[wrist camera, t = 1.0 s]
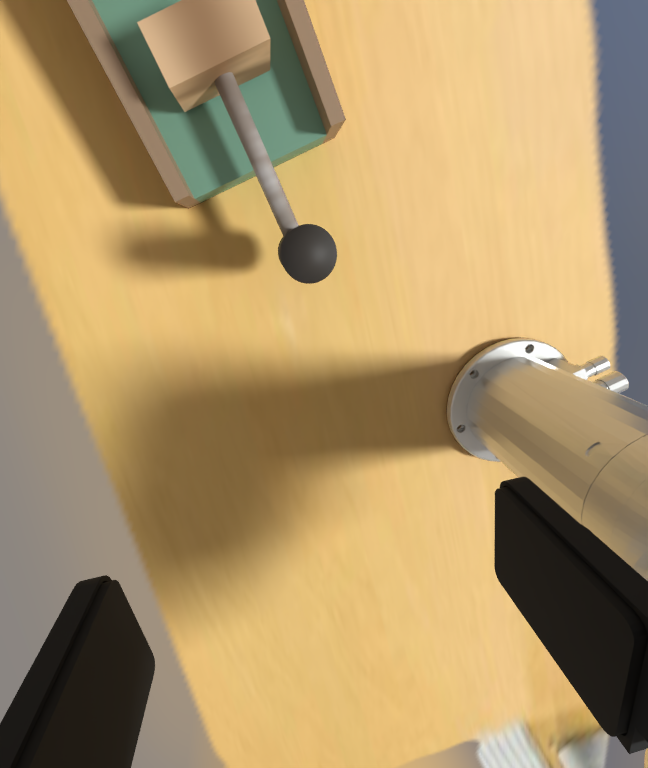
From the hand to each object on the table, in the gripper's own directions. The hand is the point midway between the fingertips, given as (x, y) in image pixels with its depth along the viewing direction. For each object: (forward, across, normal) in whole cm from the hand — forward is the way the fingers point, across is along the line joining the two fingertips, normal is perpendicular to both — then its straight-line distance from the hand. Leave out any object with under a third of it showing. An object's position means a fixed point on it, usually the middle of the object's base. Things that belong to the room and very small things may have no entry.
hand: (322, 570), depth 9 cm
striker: (+23, -1, -12) cm, 26 cm away
